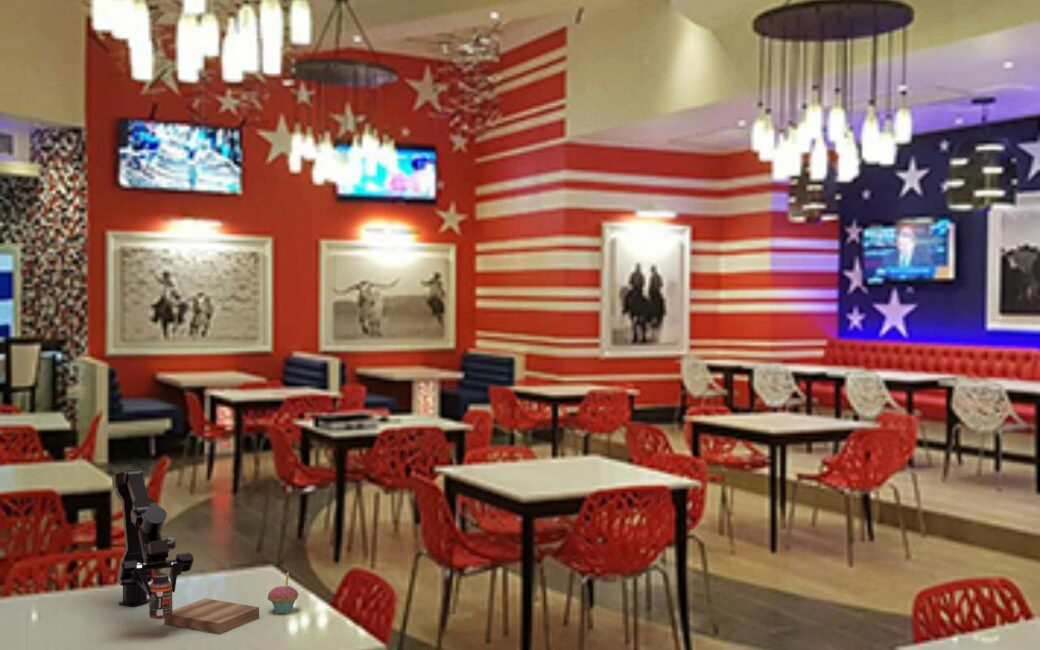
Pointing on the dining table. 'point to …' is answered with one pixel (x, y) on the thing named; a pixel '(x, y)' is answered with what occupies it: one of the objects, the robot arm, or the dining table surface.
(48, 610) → the dining table surface
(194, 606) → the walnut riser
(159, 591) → the supplement bottle
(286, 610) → the cupcake
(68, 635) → the dining table surface
